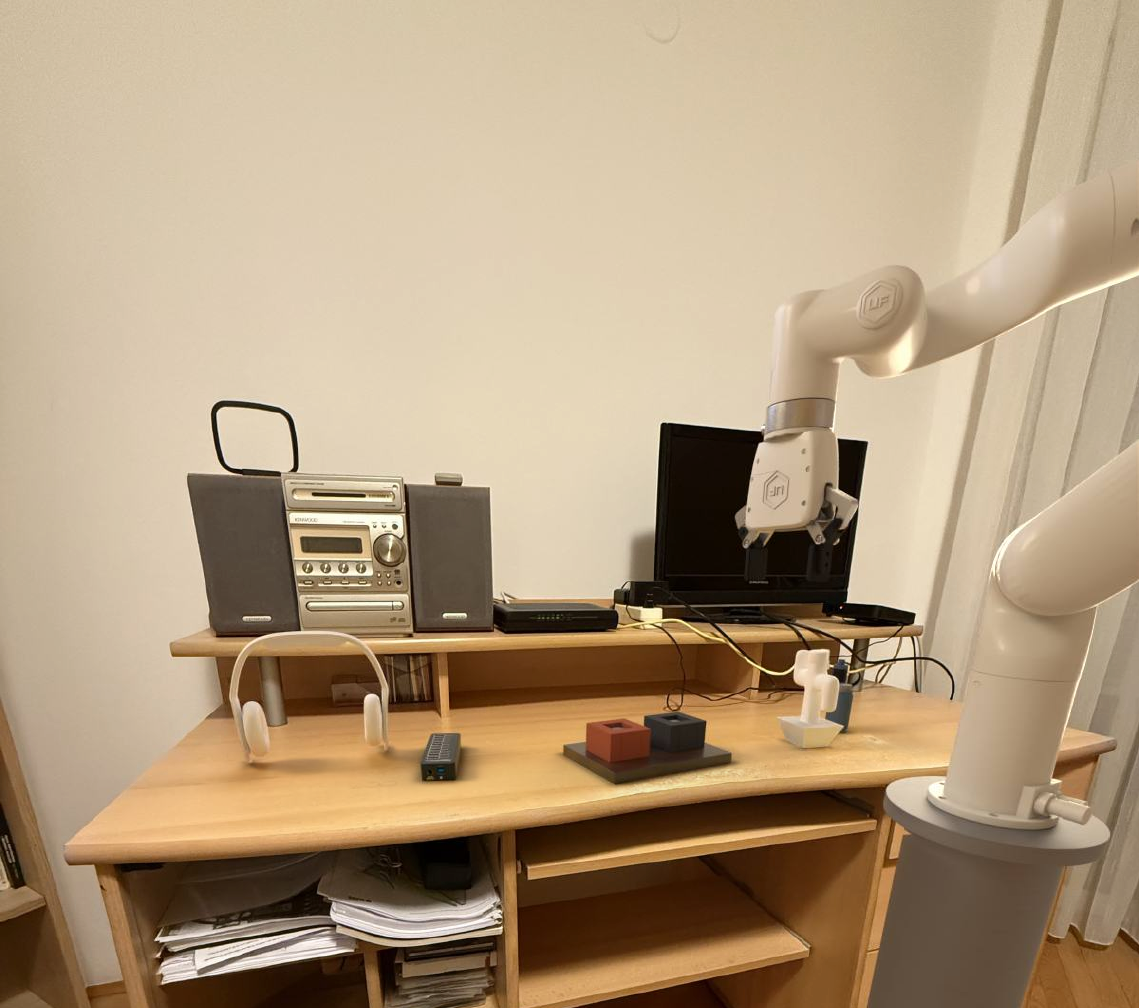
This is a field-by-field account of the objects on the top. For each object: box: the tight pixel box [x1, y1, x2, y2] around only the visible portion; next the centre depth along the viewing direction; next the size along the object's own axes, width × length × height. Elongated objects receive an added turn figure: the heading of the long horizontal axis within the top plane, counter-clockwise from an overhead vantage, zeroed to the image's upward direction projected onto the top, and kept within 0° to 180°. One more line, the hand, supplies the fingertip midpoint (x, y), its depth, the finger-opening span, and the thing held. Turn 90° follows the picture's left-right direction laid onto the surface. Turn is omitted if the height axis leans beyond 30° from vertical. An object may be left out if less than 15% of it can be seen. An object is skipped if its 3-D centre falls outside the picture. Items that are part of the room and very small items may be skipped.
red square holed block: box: [585, 718, 651, 763], centre depth 84 cm, size 6×6×4 cm
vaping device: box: [824, 658, 854, 734], centre depth 103 cm, size 3×5×12 cm, turn 4°
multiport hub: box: [420, 732, 462, 782], centre depth 84 cm, size 4×14×2 cm, turn 7°
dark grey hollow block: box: [643, 711, 707, 753], centre depth 89 cm, size 6×6×4 cm
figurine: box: [776, 648, 844, 749], centre depth 94 cm, size 7×9×15 cm
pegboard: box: [562, 720, 733, 785], centre depth 87 cm, size 14×20×5 cm
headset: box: [228, 630, 390, 764], centre depth 82 cm, size 20×7×18 cm, turn 110°
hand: (784, 580), depth 74 cm, fingers open, 9 cm apart
